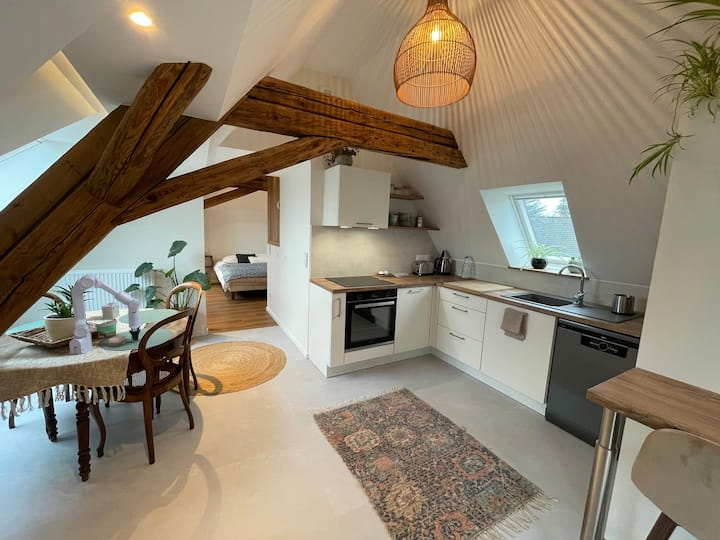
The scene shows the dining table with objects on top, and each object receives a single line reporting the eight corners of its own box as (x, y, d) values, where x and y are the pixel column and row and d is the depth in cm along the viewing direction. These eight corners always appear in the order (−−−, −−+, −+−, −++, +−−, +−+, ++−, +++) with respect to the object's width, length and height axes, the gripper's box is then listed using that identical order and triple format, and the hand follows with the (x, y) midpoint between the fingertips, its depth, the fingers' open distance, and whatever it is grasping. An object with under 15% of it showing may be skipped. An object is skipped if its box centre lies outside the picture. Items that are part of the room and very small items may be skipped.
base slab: (119, 347, 179) (119, 343, 179) (107, 346, 178) (107, 343, 178) (126, 342, 185) (126, 338, 185) (115, 342, 185) (115, 338, 184)
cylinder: (137, 342, 185) (137, 336, 184) (130, 342, 185) (129, 336, 184) (142, 340, 189) (141, 334, 189) (134, 340, 189) (134, 334, 188)
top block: (118, 342, 179) (118, 339, 179) (109, 342, 178) (108, 339, 178) (125, 339, 184) (124, 336, 184) (115, 339, 184) (115, 336, 184)
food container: (104, 340, 186) (102, 325, 185) (96, 339, 187) (94, 324, 186) (123, 333, 198) (122, 319, 196) (115, 332, 199) (114, 318, 198)
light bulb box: (109, 316, 230) (108, 302, 229) (120, 315, 232) (118, 302, 231) (102, 320, 220) (101, 306, 219) (113, 319, 222) (112, 306, 221)
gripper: (142, 320, 181) (143, 341, 183) (142, 313, 193) (143, 333, 195) (127, 322, 177) (129, 343, 179) (128, 315, 189) (130, 335, 191)
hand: (136, 338), depth 187 cm, fingers open, 7 cm apart
